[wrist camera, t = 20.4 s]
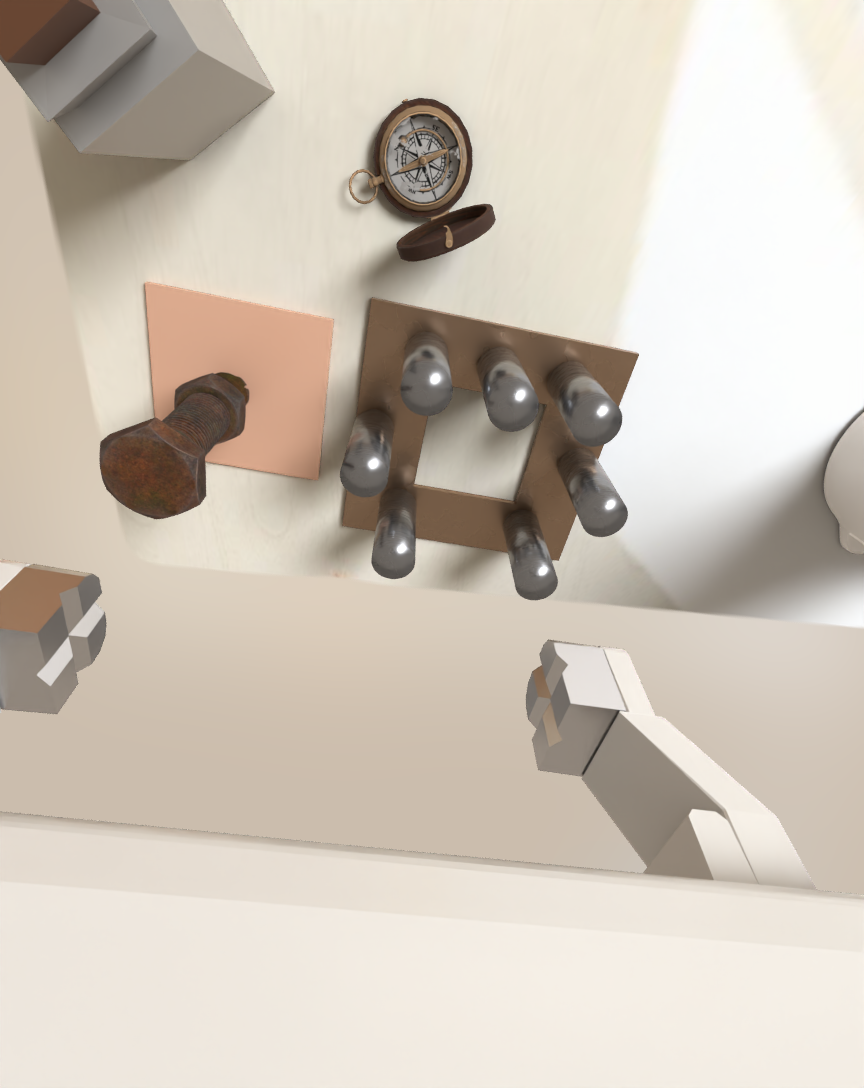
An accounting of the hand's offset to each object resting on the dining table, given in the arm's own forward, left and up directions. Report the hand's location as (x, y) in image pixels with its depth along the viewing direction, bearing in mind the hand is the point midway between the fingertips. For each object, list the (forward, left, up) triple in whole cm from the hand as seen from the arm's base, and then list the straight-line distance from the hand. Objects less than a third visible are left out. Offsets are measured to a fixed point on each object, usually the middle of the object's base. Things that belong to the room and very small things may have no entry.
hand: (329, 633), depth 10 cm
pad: (+11, +9, -35) cm, 38 cm away
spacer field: (-8, +10, -35) cm, 37 cm away
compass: (0, -7, -35) cm, 36 cm away
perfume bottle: (+14, -10, -35) cm, 39 cm away
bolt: (+12, +9, -35) cm, 38 cm away
